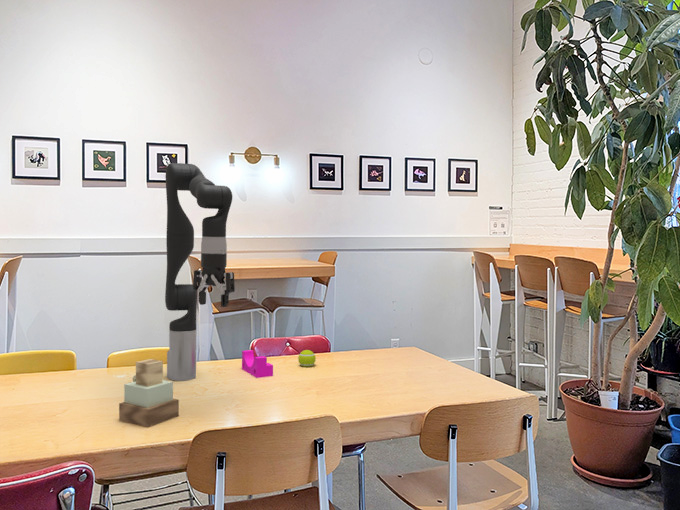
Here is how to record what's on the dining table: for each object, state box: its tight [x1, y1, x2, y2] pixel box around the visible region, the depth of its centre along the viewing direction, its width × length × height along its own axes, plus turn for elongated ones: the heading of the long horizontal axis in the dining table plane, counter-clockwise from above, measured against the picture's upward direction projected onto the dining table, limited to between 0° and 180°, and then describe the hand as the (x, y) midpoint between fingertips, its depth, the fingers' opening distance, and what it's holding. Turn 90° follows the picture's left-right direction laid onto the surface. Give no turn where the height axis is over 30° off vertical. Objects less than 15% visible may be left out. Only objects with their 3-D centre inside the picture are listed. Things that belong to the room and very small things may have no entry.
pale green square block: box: [123, 379, 174, 408], centre depth 159 cm, size 9×9×5 cm
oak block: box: [135, 358, 164, 387], centre depth 158 cm, size 5×5×6 cm
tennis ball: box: [297, 349, 316, 368], centre depth 223 cm, size 7×7×7 cm
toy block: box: [241, 349, 274, 379], centre depth 212 cm, size 15×6×8 cm, turn 30°
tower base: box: [118, 398, 180, 428], centre depth 158 cm, size 11×11×5 cm
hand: (213, 305), depth 173 cm, fingers open, 8 cm apart
